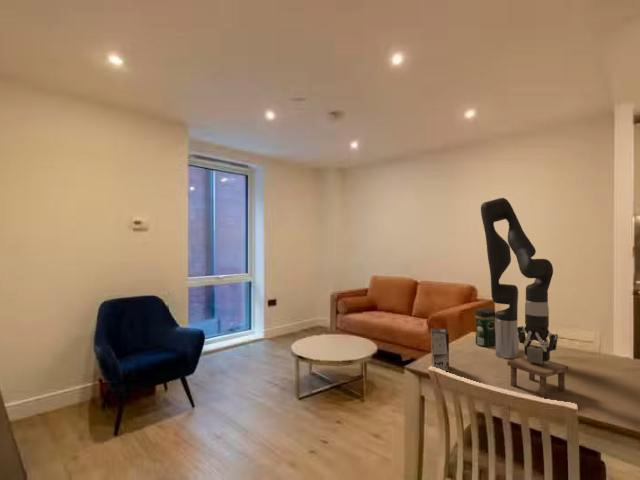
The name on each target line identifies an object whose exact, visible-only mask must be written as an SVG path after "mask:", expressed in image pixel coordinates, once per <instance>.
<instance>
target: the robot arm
mask: <svg viewBox="0 0 640 480" xmlns="http://www.w3.org/2000/svg"><path fill="white" fill-rule="evenodd" d="M480 215H481V219H482V220H481V221H482V225H483V229H484V234H485V243H486V253H487V261H488V266H489V275H490V291H491V300H492V302H494V303H495V304H499V305H500V304H501V305H508V306H509V307H507V308H506V309H501V310H497V311H495V345H494V346H495V356H498V357H499V358H502V359H508V360H510V359H511V360H513V359H517V358H519V355H520V352H519V351H520V347H519V346H520V344H523V347H524V354H525V356H527V347H529V346H530V345H532V343H533V341H536V342H538V343H539V345H540V346H541V347H542V348H543V350H544V351H543V361H545V362H546V361H548V360H549V361H550V360H551V356H550V354H551V352H553V351H556V350H557V343H558V338H559V335H558V334H557V333H551V332H550V331H549V326H550V325H549V323H550V322H549V321H550V317H549V315H550V309H549V293H548V292H549V288H550V285H551V281H552V279H553V274H554V268H553V264H552V262H551V261H550V260H549V259H547V258H533V257H534V256H535V255H536V251H537V250H536V248H535V246H534V244H532V241H530V239H529V237H528V236H527V235H526V233H525V231H524V230H523V227H522V225H521V223H520V221H519V218H518V217H517V215H516V212H515V210H514V208H513V206H512V205H511V203H510V202H509V200H508V199H507V198H505V197H499V198H496V199H492V200H488V201H485V202H483V203H481V205H480ZM503 220H506V221H507V223H508V232H507V241H506V240H505V239H504V238H503V237H502V236H501V235H500V234H499V233H498V231H496V228H495V225H494V224H495V223H496V222H500V221H503ZM511 250H512V252H513V253H514V255H515V257H516V262H517V264H518V268H519V272H520V273H521V274H522V275H523V277H525V278H528V279H534V281H533V282H532V283H531V284H527V285H526V286H525V303H524V325H525V326H523V325H522V326H519V325H518V307H519V306H518V303H519V302H518V301H519V289H518V286H517V285H515V284H506V283H500V280H501V277H502V276H503V274H504V272H506V270H507V269H508V267H509V266H510V264H511V261H512V256H511ZM526 334H527V335H526ZM548 339H549V340H548Z"/></svg>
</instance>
